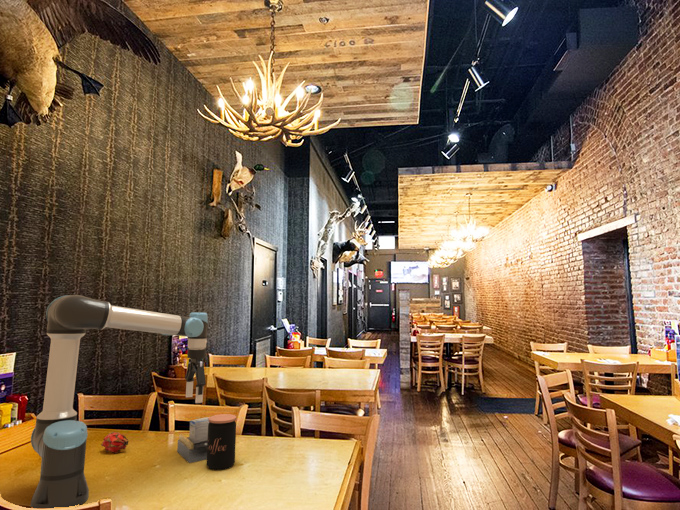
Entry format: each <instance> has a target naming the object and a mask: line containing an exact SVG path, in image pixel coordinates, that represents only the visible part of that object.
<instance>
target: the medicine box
mask: <svg viewBox="0 0 680 510" xmlns="http://www.w3.org/2000/svg"><path fill="white" fill-rule="evenodd" d="M208 418H209V417H207V416H206V417H200V418H196V419H191V420H189V436H188V437H189V440H190V441H191V442H192V443H193V444H196V443H200V442H204V441H207V440H208V424H209V421H208Z"/></svg>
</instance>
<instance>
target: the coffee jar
mask: <svg viewBox="0 0 680 510" xmlns="http://www.w3.org/2000/svg"><path fill="white" fill-rule="evenodd" d="M208 421H209V424H208V440H207V459H206V466H207V468H208V469H209V470H212V471H224V470H228V469H230V468H232V467H233V465H234V464H235V461H236V440H237V439H236V437H237V422H236V421H237V416H236V415H235V414H232V413H231V414H229V413H221V414H220V413H219V414H215V415H212V416H209V417H208Z"/></svg>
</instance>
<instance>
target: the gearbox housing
mask: <svg viewBox="0 0 680 510" xmlns="http://www.w3.org/2000/svg"><path fill="white" fill-rule="evenodd" d="M178 438H179V439H177V450H176V452H177V453H178V454H179V455H180V456H181V457H182V458H183V459H184V460H185V461H186V462H187V464H188V463H189V464H192V463H195V462H200V461H204V460H206V461H207V441H204V442H200V443H196V444H193V443H192V442H191V441H190V440H189V436H188V437H187V436H185V435H184V434H183V433H180V434H179V437H178Z"/></svg>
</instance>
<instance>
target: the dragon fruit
mask: <svg viewBox="0 0 680 510" xmlns="http://www.w3.org/2000/svg"><path fill="white" fill-rule="evenodd" d="M129 442H130V441H129V439H128V438H127V437H126V435H124V434H121V433H120V432H118V431H116V432H115V431H112V432H111V433H108V434H107V435H106V436H104V437H103V441H102V443H101V447H104V451H105V453H108V452H111V453H114V454H120V453H121V451H122V450H125V449H126V448H127V446H128V445H129Z"/></svg>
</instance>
